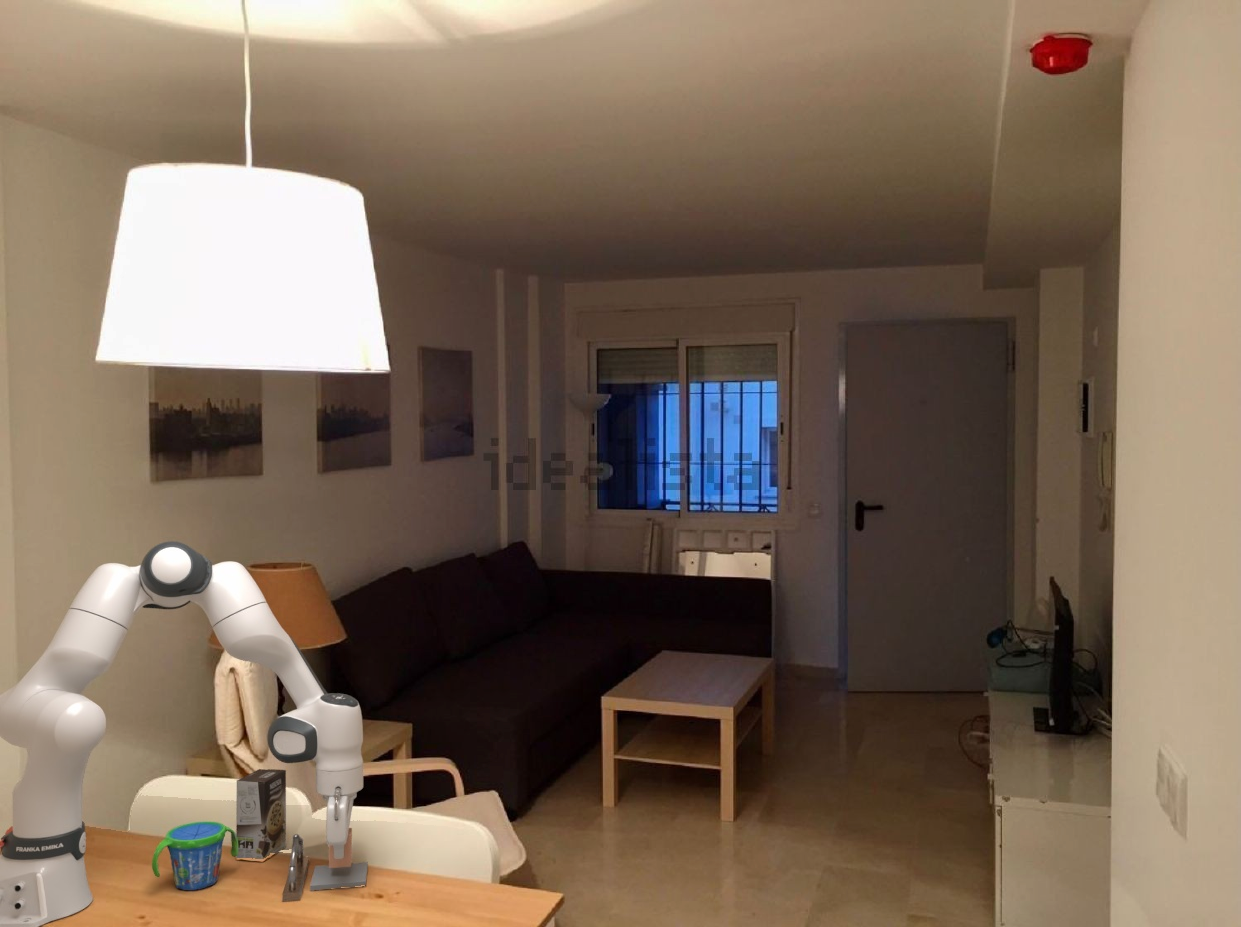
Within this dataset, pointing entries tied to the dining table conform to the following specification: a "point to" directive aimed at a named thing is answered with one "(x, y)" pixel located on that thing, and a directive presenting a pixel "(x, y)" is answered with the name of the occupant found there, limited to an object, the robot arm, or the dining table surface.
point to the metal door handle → (296, 871)
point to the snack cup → (195, 853)
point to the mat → (339, 876)
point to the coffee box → (261, 813)
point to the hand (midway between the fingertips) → (340, 852)
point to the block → (347, 854)
